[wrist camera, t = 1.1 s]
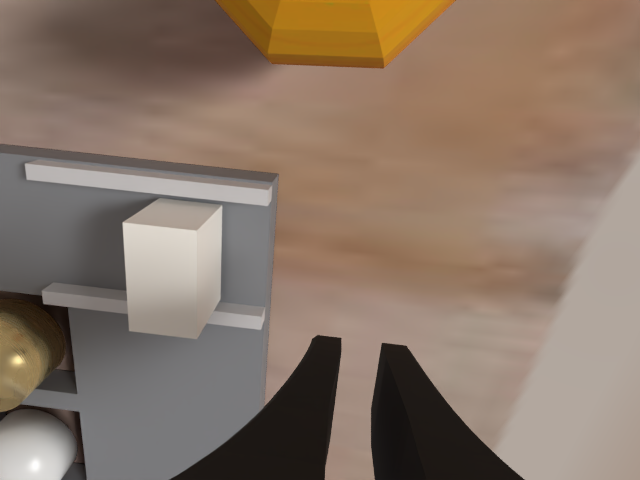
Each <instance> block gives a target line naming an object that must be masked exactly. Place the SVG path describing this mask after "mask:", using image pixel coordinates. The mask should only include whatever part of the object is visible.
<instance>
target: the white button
mask: <svg viewBox="0 0 640 480" xmlns="http://www.w3.org/2000/svg"><path fill="white" fill-rule="evenodd" d="M77 451H78V447H77V442H76V439H75V437H74V435H73V433H72V432H71V430H70V429H69V428H68V427H67V426H66V425H65V424H64V423H63V422H62V421H61V420H59V419H58V418H56V417H55V416H53V415H51V414H49V413H46V412H43V411H40V410H35V409H20V410H16V411H13V412H11V413H9V414H8V415H6V416H5V417H4V418H3V419H2V420H1V421H0V480H61V479H62V477H63V476H64V475H65V473H66V472H67V470H68V469H69V468H70V466H71V465H72V464H73V462H74V461H75V459H76V456H77Z"/></svg>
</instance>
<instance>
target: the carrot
mask: <svg viewBox="0 0 640 480" xmlns="http://www.w3.org/2000/svg"><path fill="white" fill-rule="evenodd" d="M215 1H216V2H217V3H218V4H219V6H220V7H221V8H222V9H223V10H224V11H225V12H226V13H227V15H228V16H229V17H230V18H231V19H232V20H233V21H234V22H235V23H236V25H237V26H238V27H239V28H240V29H241V30H242V31H243V32H244V34H245V35H246V36H247V37H248V38H249V39H250V40H251V41H252V43H253V44H254V45H255V46H256V47H257V48H258V49H259V50H260V51H261V53H262V54H263V55H264V56H265V57H266V58H267V59H268V60H269V62H271V63H272V64H287V65H312V66H337V67H362V68H384V67H386V66H387V65H388V64H389V63H390V62H391V61H392V60H393V59H394V58H395V57H396V56H397V55H398V54H399V53H400V52H401V51H403V50H404V49H405V48H406V47H407V46H408V45H409V44H410V43H411V42H412V41H413V40H414V39H415V38H416V37H417V36H418V35H420V34H421V33H422V32H423V31H424V30H425V29H426V28H427V27H428V26H429V25H430V24H431V23H432V22H433V21H434V20H435V19H437V18H438V17H439V16H440V15H441V14H442V13H443V12H444V11H445V10H446V9H447V8H448V7H449V6H450V5H451V4H452V3H454V2H455V1H456V0H215Z"/></svg>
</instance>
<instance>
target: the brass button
mask: <svg viewBox="0 0 640 480" xmlns="http://www.w3.org/2000/svg"><path fill="white" fill-rule="evenodd" d="M65 349H66V346H65V339H64V336H63V333H62V331H61V329H60V327H59V325H58V324H57V322H56V321H55V320H54V319H53V318H52V317H51V316H50V315H49V314H48V313H47V312H46V311H45V310H43V309H42V308H40V307H38V306H37V305H35V304H33V303H30V302H28V301H24V300H20V299H2V300H0V412H3V411H8V410H11V409H13V408H15V407H17V406H18V405H19V404H20V403H21V402H23V401H24V400H25V399H26V398H27V397H28V396H29V395H30V394H31V393H32V392H33V391H34V390H35V389H36V388H37V387H38V386H39V385H40V384H41V383H42V382H43V381H44V380H45V379H46V378H47V377H48V376H49V375H50V374H51V373H52V372H53V371H54V370H55V369H56V368H57V367H58V366H59V365H60V363H61V362H62V360H63V358H64V355H65Z"/></svg>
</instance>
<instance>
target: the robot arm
mask: <svg viewBox="0 0 640 480" xmlns="http://www.w3.org/2000/svg"><path fill="white" fill-rule="evenodd" d="M340 358H341V338H337V337H328V336H320V335H317V336H316V337H314V338H313V339H312V342H311V344H310V346H309V348H308V350H307V352H306V354H305V355H304V357H303V359H302V360H301V362H300V363H299V365H298V366H297V368H296V369H295V370H294V372H293V373H292V374H291V376H290V377H289V379H288V380H287V381H286V382H285V384H284V385H283V386H282V387H281V388H280V390H279V391H278V392H277V393H276V394H275V395H274V397H273V398H272V399H271V400H270V401H269V402H268V403H267V404H266V405H265V407H264V408H263V409H262V410H261V411H260V412H259V413H258V414H257V415H256V416H255V417H253V418H252V419H251V420H250V421H249V422H248V423H247V424H246V425H245V426H244V427H243V428H241V429H240V430H239V431H238V432H237V433H235V434H234V435H233V436H232V437H231V438H229V439H228V440H227V441H226V442H225V443H223V444H222V445H221V446H219V447H218V448H217V449H215V450H214V451H213V452H211V453H210V454H208V455H207V456H205V457H204V458H202V459H201V460H199V461H198V462H196V463H195V464H193V465H192V466H190V467H189V468H187V469H186V470H185V471H183V472H181V473H180V474H178V475H176V476H175V477H173V478H171V479H169V480H325V465H326V460H327V454H328V448H329V443H330V436H331V428H332V420H333V412H334V405H335V397H336V389H337V381H338V374H339V366H340ZM371 448H372V458H373V466H374V475H375V480H524V479H523V478H522V477H520V476H519V475H518V474H517V473H516V472H515V471H513V470H512V469H511V468H510V467H509V466H508V465H507V464H505V463H504V462H503V461H502V460H501V459H500V458H499V457H498V456H497V455H496V454H495V453H494V452H493V451H492V450H490V449H489V448H488V447H487V446H486V445H485V444H484V443H483V442H482V441H481V440H480V439H479V438H478V437H477V436H476V435H475V434H474V433H473V432H472V431H471V430H470V428H469V427H468V426H467V425H466V424H465V423H464V422H463V421H462V420H461V418H460V417H459V416H458V415H457V414H456V413H455V412H454V410H453V409H452V408H451V407H450V405H449V404H448V403H447V402H446V400H445V399H444V398H443V397H442V395H441V394H440V393H439V391H438V390H437V389H436V387H435V386H434V385H433V383H432V382H431V381H430V379H429V378H428V376H427V375H426V374H425V372H424V371H423V369H422V368H421V366H420V365H419V363H418V362H417V360H416V359H415V358H414V356H413V355H412V353H411V352H410V350H409V349H408V348H407V346H404V345H395V344H387V343H382V346H381V352H380V358H379V364H378V370H377V377H376V383H375V389H374V395H373V401H372V407H371Z"/></svg>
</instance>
